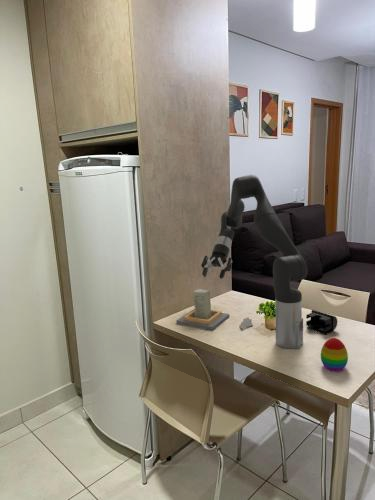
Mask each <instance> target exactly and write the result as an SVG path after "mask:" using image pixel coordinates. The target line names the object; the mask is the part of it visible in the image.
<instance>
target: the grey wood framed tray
mask: <svg viewBox="0 0 375 500" xmlns="http://www.w3.org/2000/svg"><path fill="white" fill-rule="evenodd" d="M229 318H230V313H223V312H222V311H221V310H216V309H211V317H210V318H208V319H201V318H195V308H193V309H191V310H190V311H188V312H187V313H186V314H184V315H183V316H181V317H180V318H178V319H177V320H176V321H175V322H176V325H180V326H186V327H192V328H197V329H203V330H207V331H208V330H210V331H215V330H216V329H217V328H218V327H220V326H221V325H222V324H223V323H225V322H226V321H227V320H228V319H229Z"/></svg>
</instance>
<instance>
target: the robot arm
mask: <svg viewBox="0 0 375 500" xmlns="http://www.w3.org/2000/svg"><path fill="white" fill-rule="evenodd" d="M262 184H263V183H261V181H260V178H259V177H258V176H257V175H256V174H249V175H244V176H243V175H242V176H239V177H236V178H235V179H234V180H233V182H232V184H231V185H232V187H231V194H230V203H229V205H228V206H229V207H228V209H227V211H225V212H223V213H222V214H221V217H220V231H219V234H218V236H217V239H216V241H215V244H214V246H213V249H212V252H211V256H207V255H205V256H204V257H203V259H202V262H201V265H200V266H201V268H202V269H203V270H202V273H201V275H202V276H203V278H207V274H208V271H209V270H210V269H211V268H213V267H214V268H216V267H218V268H221V269H220V270H221V271H220V272H219V273H220V274H219V276H218V277H219V279H220V280H222V279H224V277H225V274H226V272H231V269H232V265H233V262H234V261H233V260H232V257H229V254H230V251H231V247H232V242H233V239H234V237H235V231H234V230H238V229H240V228H241V226H242V224H243V213H244V211H245V208H246V207H245V202H244V201H243V200H244V199H250V198H254V199H255V200H256V209H255V213H254V216H253V223H254V226H255V228H256V230H257V231H258V234H259V235H260V237H261V239H263V240H264V241H265V242H267V243H268V244H269V245H271V246H272V247H274V248H275V249H276V250H278V252H279V253H281V255H282V256H278V257H276V258H274V261H273V264H272V265H273V266H272V278H273V279H272V281H273V291H274V295H275V344H276V345H277V346H278V347H280V348H283V349H300V347H301V346H302V344H303V343H304V318H303V317H302V314H303V313H302V307H303V306H302V305H303V304H302V303H303V301H302V300H303V298H302V292H301V290H298V289H296V288H293V287H291V286H290V285H291V283H290V282H297V281H301V280H304V279H305V278H306V277H307V275H308V271H309V270H308V264H307V263H306V261H305V259H304V257H303V256H302V254H301V253H300V251H299V249H298V248H297V247H296V245H295V244H294V243H293V241H292V240H291V238H290V237H289V234H288V232H286V229H285V228H284V225H283V224H282V221H281V220H280V219H279V216H278V215H277V213H276V211H275V209H274V208H273V206H272V205H271V203H270V201H269V198H268V197H267V194H266V192H265V190H264V186H263V185H262ZM225 264H226V266H225Z"/></svg>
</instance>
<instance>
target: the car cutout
mask: <svg viewBox="0 0 375 500" xmlns="http://www.w3.org/2000/svg"><path fill="white" fill-rule="evenodd" d="M252 321H253V320H252V318H249V317H245V318H244V319H243V320H242V321H241V322H240V324H239V328H240V329H242V330H246V329H245V328H248V327H252V328H253V327H254V324H253V322H252Z"/></svg>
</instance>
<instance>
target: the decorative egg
mask: <svg viewBox="0 0 375 500" xmlns="http://www.w3.org/2000/svg"><path fill="white" fill-rule="evenodd" d="M320 360H321V363H322V365H323V366H324V368H325V369H326V370H328V371H331V372H341V371H343V370H344V369H345V368H346V366H347V364H348V361H349V354H348V349H347V347H346V345H345V343H344V342H343V341H341V340H340V339H339V338H336V337H331V338H329V339H327V340H326V341H325V342H324V344H323V345H322V347H321V351H320Z"/></svg>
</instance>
